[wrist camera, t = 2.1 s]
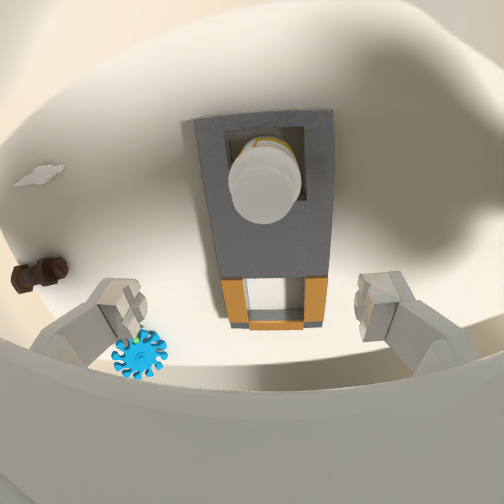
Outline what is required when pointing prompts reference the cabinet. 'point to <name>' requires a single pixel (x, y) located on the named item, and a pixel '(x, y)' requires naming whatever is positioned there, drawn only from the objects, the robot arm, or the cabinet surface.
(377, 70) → the cabinet surface
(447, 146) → the cabinet surface
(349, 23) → the cabinet surface
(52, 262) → the bolt
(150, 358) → the blue lobed piece
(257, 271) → the gray and orange holder
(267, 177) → the supplement bottle
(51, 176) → the stone spearhead
